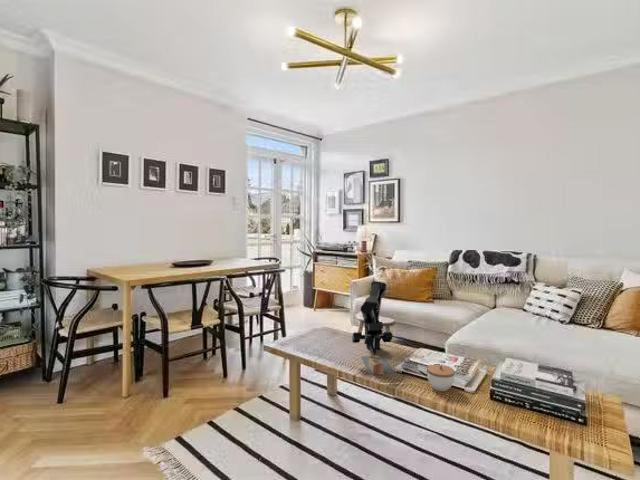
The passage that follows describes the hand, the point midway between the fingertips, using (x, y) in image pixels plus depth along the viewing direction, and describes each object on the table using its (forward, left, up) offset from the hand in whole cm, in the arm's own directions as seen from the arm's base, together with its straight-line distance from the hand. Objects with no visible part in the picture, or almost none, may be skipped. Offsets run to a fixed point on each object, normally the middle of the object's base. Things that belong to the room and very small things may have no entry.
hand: (374, 354), depth 169 cm
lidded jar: (-23, +21, -7) cm, 32 cm away
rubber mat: (-2, -3, -7) cm, 8 cm away
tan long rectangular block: (0, -2, -4) cm, 4 cm away
